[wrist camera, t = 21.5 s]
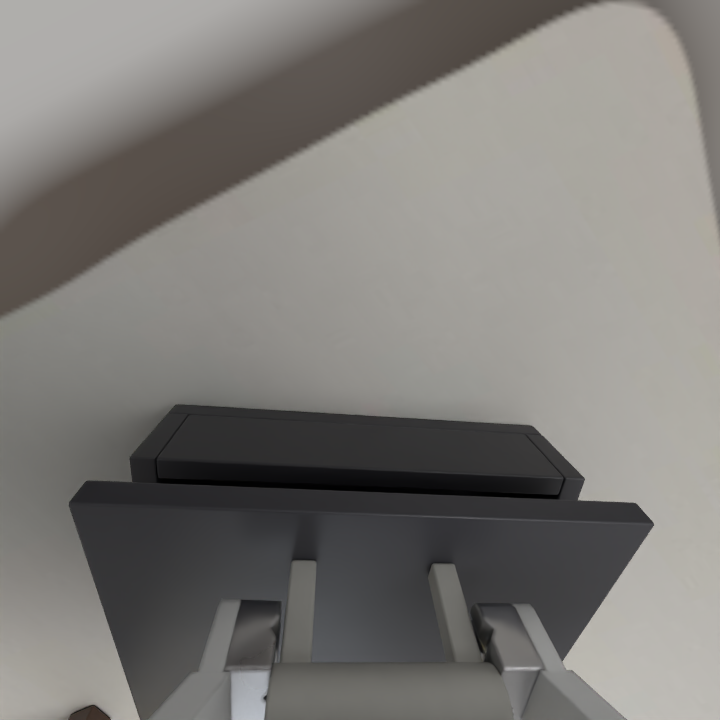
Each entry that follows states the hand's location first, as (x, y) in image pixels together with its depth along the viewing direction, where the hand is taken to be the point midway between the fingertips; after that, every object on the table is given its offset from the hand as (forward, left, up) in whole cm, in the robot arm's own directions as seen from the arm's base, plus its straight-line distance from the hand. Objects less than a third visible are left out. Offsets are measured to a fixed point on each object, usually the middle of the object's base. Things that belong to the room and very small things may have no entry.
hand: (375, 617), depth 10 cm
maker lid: (+5, 0, -3) cm, 6 cm away
